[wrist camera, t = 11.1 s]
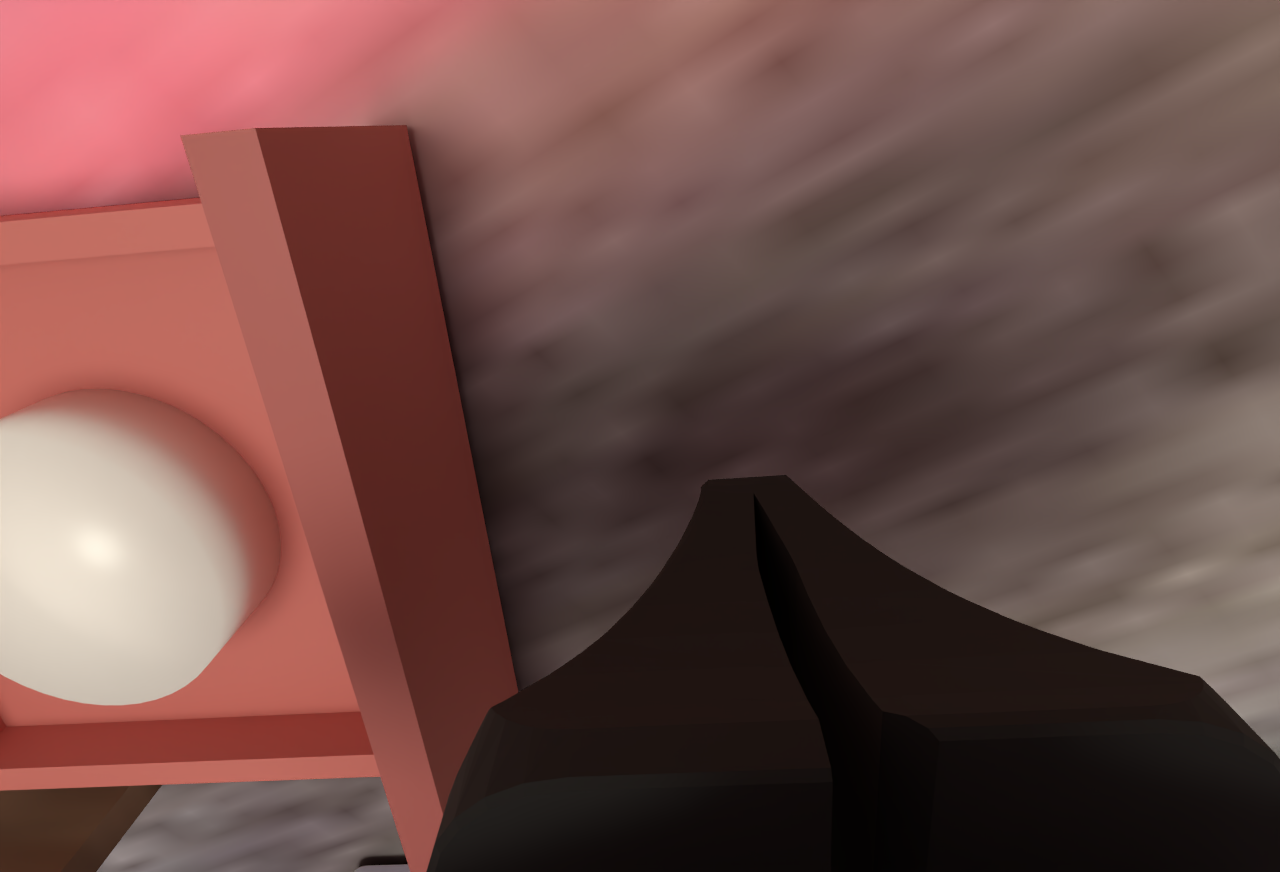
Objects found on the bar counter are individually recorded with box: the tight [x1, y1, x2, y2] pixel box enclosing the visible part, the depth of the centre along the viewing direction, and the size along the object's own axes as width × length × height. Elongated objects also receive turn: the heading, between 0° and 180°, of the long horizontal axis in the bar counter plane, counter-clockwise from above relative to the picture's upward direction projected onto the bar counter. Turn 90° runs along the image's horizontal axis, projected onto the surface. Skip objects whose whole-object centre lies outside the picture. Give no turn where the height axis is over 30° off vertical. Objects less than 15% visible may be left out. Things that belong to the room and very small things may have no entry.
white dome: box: [0, 389, 281, 705], centre depth 13 cm, size 5×5×2 cm
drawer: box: [0, 125, 518, 872], centre depth 12 cm, size 13×12×5 cm
